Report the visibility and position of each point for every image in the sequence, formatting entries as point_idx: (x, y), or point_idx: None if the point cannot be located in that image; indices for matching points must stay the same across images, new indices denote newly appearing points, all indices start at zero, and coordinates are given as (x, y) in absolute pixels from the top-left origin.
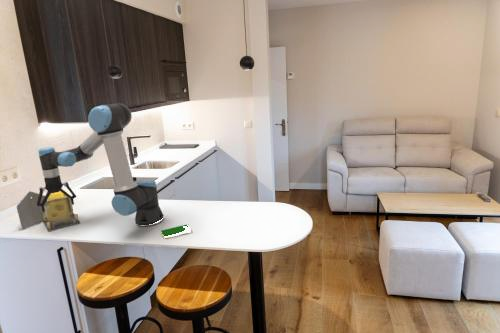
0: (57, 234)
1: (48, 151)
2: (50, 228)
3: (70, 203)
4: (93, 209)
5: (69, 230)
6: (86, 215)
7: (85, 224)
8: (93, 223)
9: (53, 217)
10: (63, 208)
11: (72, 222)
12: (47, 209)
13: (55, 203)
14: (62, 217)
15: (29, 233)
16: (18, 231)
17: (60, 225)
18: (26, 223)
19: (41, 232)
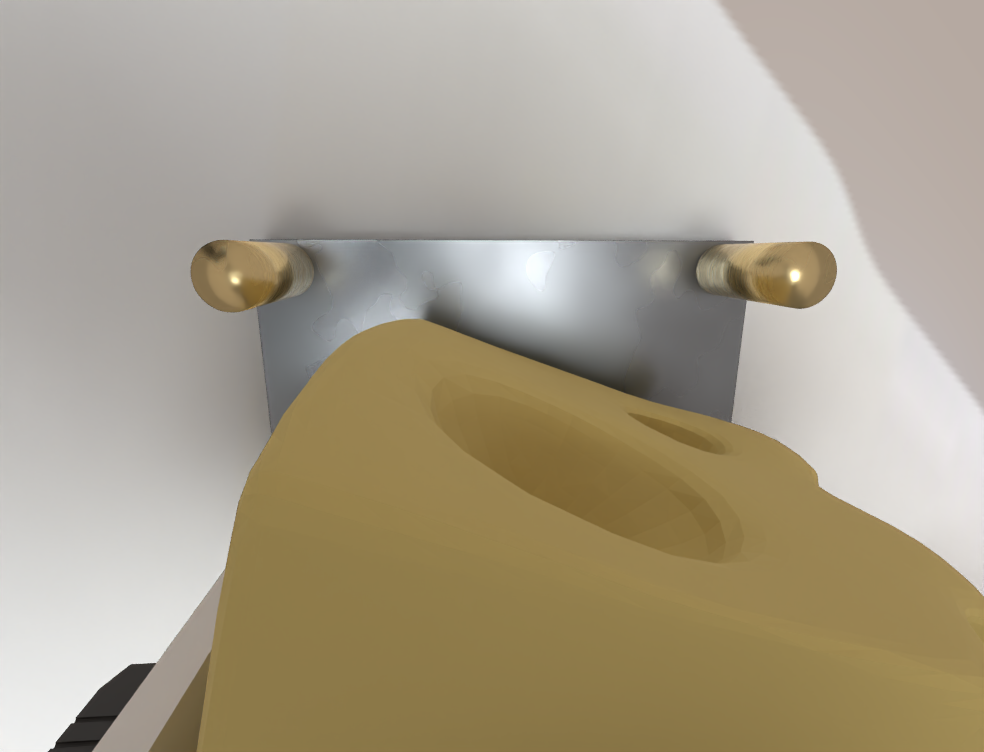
0: (657, 11)
1: None
2: (720, 244)
3: (183, 683)
4: (19, 692)
5: (467, 36)
6: (139, 521)
7: (187, 109)
8: (43, 36)
9: (678, 418)
10: (461, 421)
11: (370, 282)
12: (931, 561)
13: (816, 622)
14: (513, 356)
15: (917, 394)
16: (976, 561)
17: (558, 295)
18: None
19: (803, 308)
